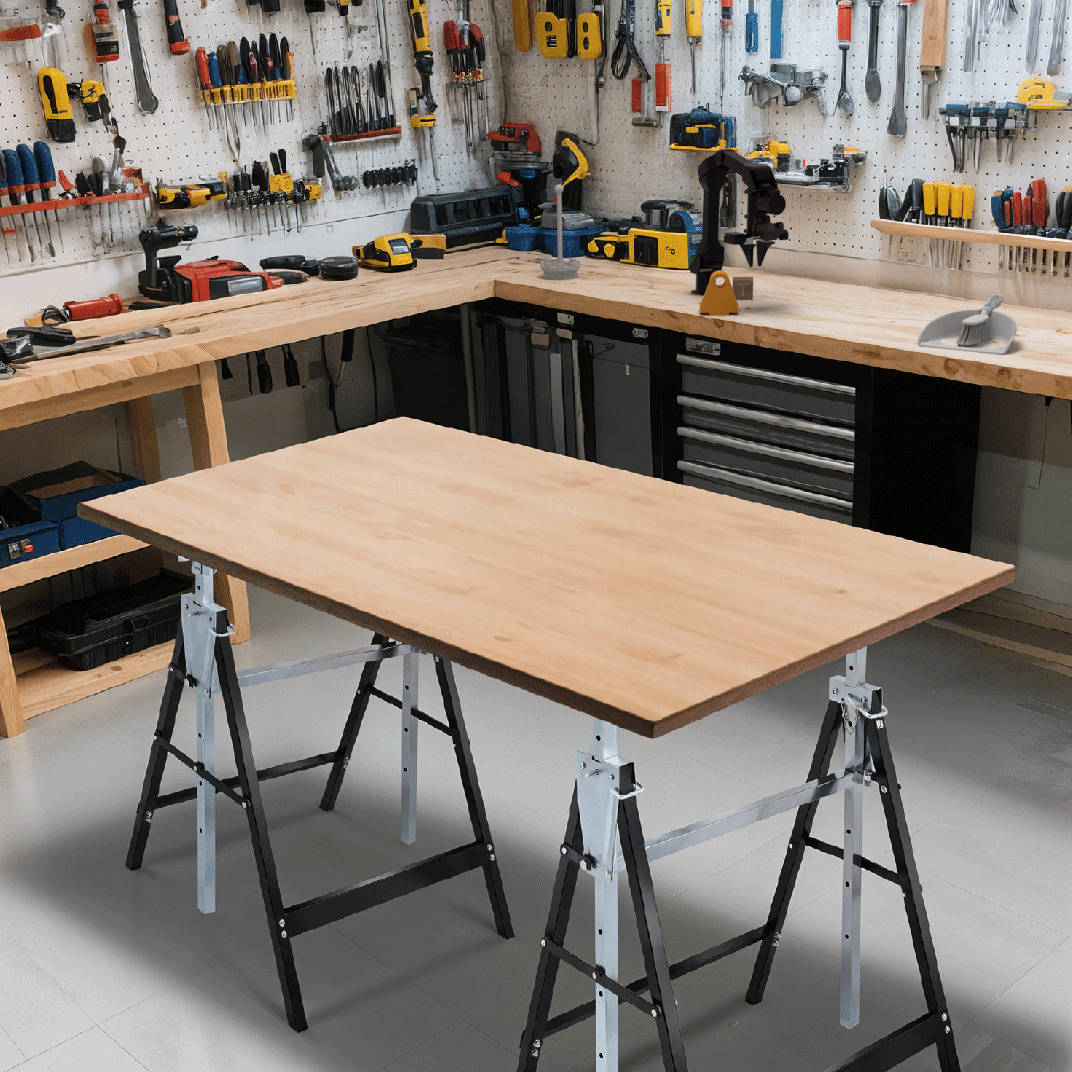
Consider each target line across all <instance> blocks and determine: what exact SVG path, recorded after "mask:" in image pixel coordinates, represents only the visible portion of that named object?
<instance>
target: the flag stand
mask: <svg viewBox="0 0 1072 1072" xmlns="http://www.w3.org/2000/svg"><path fill="white" fill-rule="evenodd" d="M563 192H564V185H562V184H561V183H559V184H556V185H555V186H554V193H556V195H555V196H554V197H553V198H552V199H553V201H554V203H555V204H556V221H557V222H556V223H557V225H556V227H557V228H556V229H557V230H556V231H557V232H556V233H557V238H556V239H557V257H556V259H555V260H554V261H552V259H551V258H544V259H543V260H540V270H541V271H543V278H544V279H545V280H553V281H566V280H574V279H576V278H578V271H579V270H580V268H581V260H580V259H577V258H572V257H570V258H569V259H568V260H569V261H568V260H567V261H564V259H565V258H564V257H563V220H562V219H563V216H562V214H563V209H562V206H563V203H562V201H563V200H562V199H563V198H562V194H563Z"/></svg>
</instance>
